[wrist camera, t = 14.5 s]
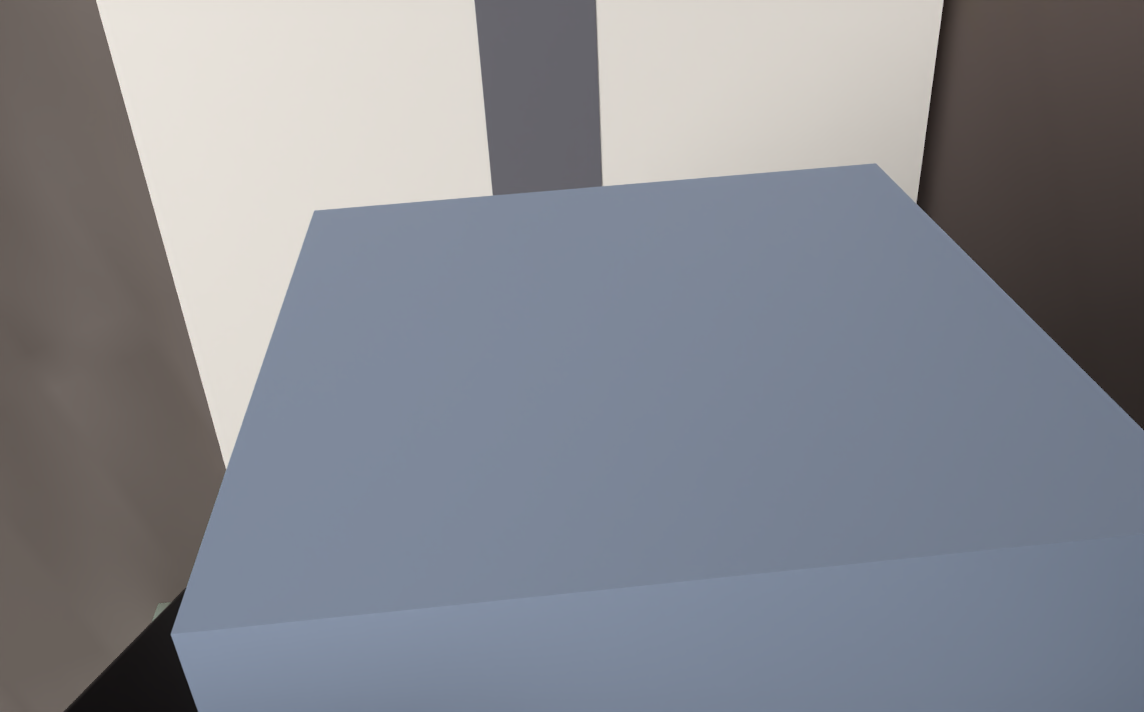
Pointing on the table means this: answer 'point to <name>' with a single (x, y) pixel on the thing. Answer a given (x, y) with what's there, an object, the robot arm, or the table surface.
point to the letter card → (478, 118)
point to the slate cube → (667, 469)
